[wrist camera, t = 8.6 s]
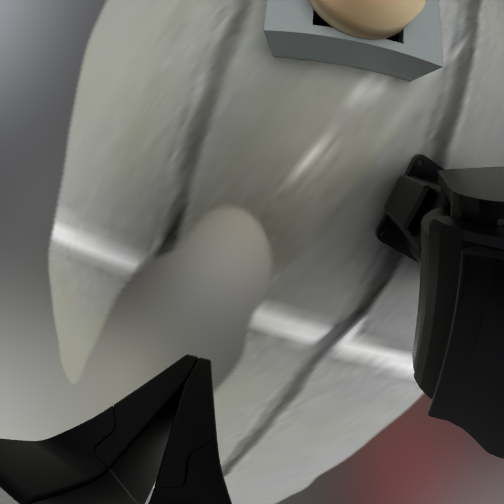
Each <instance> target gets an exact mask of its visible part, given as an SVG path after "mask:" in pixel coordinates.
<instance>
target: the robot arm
mask: <svg viewBox="0 0 504 504" xmlns="http://www.w3.org/2000/svg"><path fill="white" fill-rule="evenodd" d="M419 159H422V161H423V163H422V165H419V163H418V161H419ZM385 212H386V213H385V215H384V217H383V219H382V220H381V222H380V224H379V226H378V228H377V230H376V236H377V238H378V239H379V240H380V241H382V242H383V243H385V244H387V245H389V246H391V247H392V248H394V249H396V250H398V251H400V252H401V253H403V254H405V255H407V256H408V257H410V258H412V259H414V260H415V261H417V262H419V263H420V264H421V273H420V291H419V304H418V315H417V324H416V332H415V340H414V347H413V353H412V355H413V368H414V371H415V373H414V378H415V380H416V382H417V384H418V385H419V387H420V389H421V390H422V391H423V392H424V393H425V394H426V395H427V396H428V397H429V398H431V399H432V402H431V404H430V407H429V410H428V415H429V416H431V417H435V418H439V419H443V420H447V421H449V422H451V423H453V424H455V425H457V426H459V427H461V428H463V429H464V430H465V431H466V432H467V433H469V434H470V435H471V436H472V437H473V438H474V439H475V440H476V441H477V442H478V443H479V444H480V445H481V446H482V447H483V448H484V449H485V450H486V451H487V452H488V453H490V454H492V455H495V456H497V457H500V458H504V167H485V168H467V169H452V170H444V169H442V168H441V167H440V166H438V165H437V164H436V163H434V162H433V161H431V160H430V159H429V158H427V157H426V156H424V155H421V154H417V155H416V156H415V157H414V158H413V160H412V162H411V164H410V166H409V169H408V171H407V173H406V175H403V176H401V177H400V179H399V181H398V183H397V185H396V187H395V189H394V191H393V193H392V195H391V196H390V198H389V200H388V202H387V204H386V206H385ZM382 231H386V234H385V235H384V236H381V235H380V234H381V232H382ZM155 481H156V483H155ZM154 483H155V488H154V490H153V493H152V496H151V499H150V502H149V503H148V504H232V502H231V499H230V496H229V493H228V490H227V487H226V483H225V480H224V477H223V473H222V469H221V464H220V458H219V452H218V442H217V433H216V421H215V409H214V396H213V382H212V366H211V360H209V359H205V358H198V357H197V356H193V355H189V354H188V355H185V356H184V357H182V358H181V359H179V360H178V361H177V362H175V363H174V364H173V365H171V366H170V367H169V368H167V369H165V370H164V371H163V372H161V373H160V374H158V375H157V376H155V377H154V378H153V379H151V380H150V381H148V382H147V383H145V384H144V385H143V386H141V387H140V388H138V389H137V390H135V391H134V392H132V393H131V394H129V395H128V396H126V397H125V398H123V399H122V400H120V401H119V402H117V403H116V404H114V407H113V406H111V407H110V408H108V409H107V410H105V411H104V412H102V413H100V414H99V415H97V416H95V417H94V418H92V419H90V420H88V421H86V422H84V423H82V424H80V425H78V426H76V427H74V428H72V429H70V430H67V431H65V432H63V433H61V434H58V435H56V436H54V437H51V438H49V439H46V440H41V441H21V440H9V439H0V504H145V502H146V500H147V498H148V495H149V494H150V492H151V490H152V487H153V485H154Z"/></svg>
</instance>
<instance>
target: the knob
mask: <svg viewBox="0 0 504 504" xmlns="http://www.w3.org/2000/svg"><path fill="white" fill-rule="evenodd" d="M309 1H310V3H311V5H312V7H313V9H314V10H315V11H316V13H317V14H318V15H319V16H320V17H321V18H322V19H323V20H324V21H326V22H327V27H332V28H336V29H338V30H339V31H342V32H344V33H346V34H349V35H352V36H355V37H359V38H364V39H384V38H388V37H392V36H394V35H396V34H398V33H399V32H400V31H402V30H403V29H404V28H405V27H406V26H407V25H408V24H409V23H410V22H411V21H412V20H413V19H414V18H415V17H416V16H417V15H418V14H419V13H420V12H421V11H422V9H423V7H424V5H425V2H426V0H309Z"/></svg>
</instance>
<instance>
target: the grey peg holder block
mask: <svg viewBox="0 0 504 504" xmlns="http://www.w3.org/2000/svg"><path fill="white" fill-rule="evenodd" d="M264 32H265V34H266V37H267V40H268V42H269V45H270V48H271V51H272V53H273V56H274V57H286V58H296V59H305V60H313V61H321V62H327V63H333V64H339V65H345V66H350V67H355V68H360V69H365V70H369V71H374V72H378V73H382V74H386V75H390V76H393V77H397V78H400V79H404V80H407V81H412V80H415V79H417V78H419V77H421V76H423V75H426V74H428V73H430V72H432V71H435V70H437V69H439V68H442V67H443V44H442V27H441V15H440V6H439V0H426V2H425V5H424V7H423V9H422V11H421V12H420V13H419V14H418V15H417V16H416V17H415V18H414V19H413V20H412V21H411V22H410V23H409V24H408V25H407V26H406V27H405V28H404V29H403V30H402V31H400V32H399V43H398V42H395V41H391V40H388V39H364V38H359V37H355V36H352V35H349V34H346V33H344V32H342V31H339V30H338V29H336V28H332V27H325V26H318V25H313V7H312V5H311V3H310V1H309V0H267V4H266V14H265V24H264Z"/></svg>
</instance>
